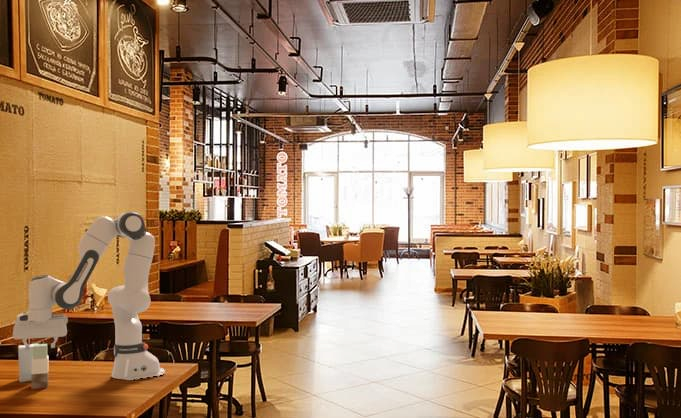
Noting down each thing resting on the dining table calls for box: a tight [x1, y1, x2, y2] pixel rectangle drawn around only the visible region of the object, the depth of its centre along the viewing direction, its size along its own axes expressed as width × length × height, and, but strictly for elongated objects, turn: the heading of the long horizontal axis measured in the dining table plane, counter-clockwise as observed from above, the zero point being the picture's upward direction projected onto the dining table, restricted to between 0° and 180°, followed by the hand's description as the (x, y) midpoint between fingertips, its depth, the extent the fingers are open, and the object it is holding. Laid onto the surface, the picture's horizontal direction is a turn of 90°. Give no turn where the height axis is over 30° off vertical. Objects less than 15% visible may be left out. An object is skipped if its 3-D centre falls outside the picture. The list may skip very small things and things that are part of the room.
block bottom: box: [30, 372, 49, 390], centre depth 265 cm, size 6×6×6 cm
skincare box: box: [17, 342, 39, 383], centre depth 275 cm, size 8×6×15 cm
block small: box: [33, 343, 48, 359], centre depth 265 cm, size 5×5×5 cm
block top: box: [32, 354, 50, 374], centre depth 265 cm, size 6×6×6 cm
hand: (40, 348), depth 265 cm, fingers open, 8 cm apart
